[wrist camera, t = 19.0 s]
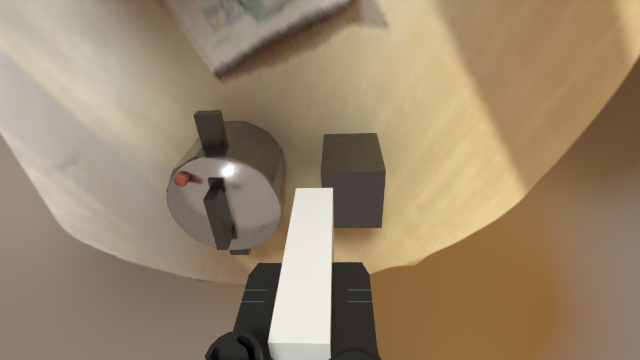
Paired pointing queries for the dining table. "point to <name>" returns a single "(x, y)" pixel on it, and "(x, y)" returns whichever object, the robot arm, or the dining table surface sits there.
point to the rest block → (354, 179)
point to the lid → (224, 202)
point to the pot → (236, 148)
